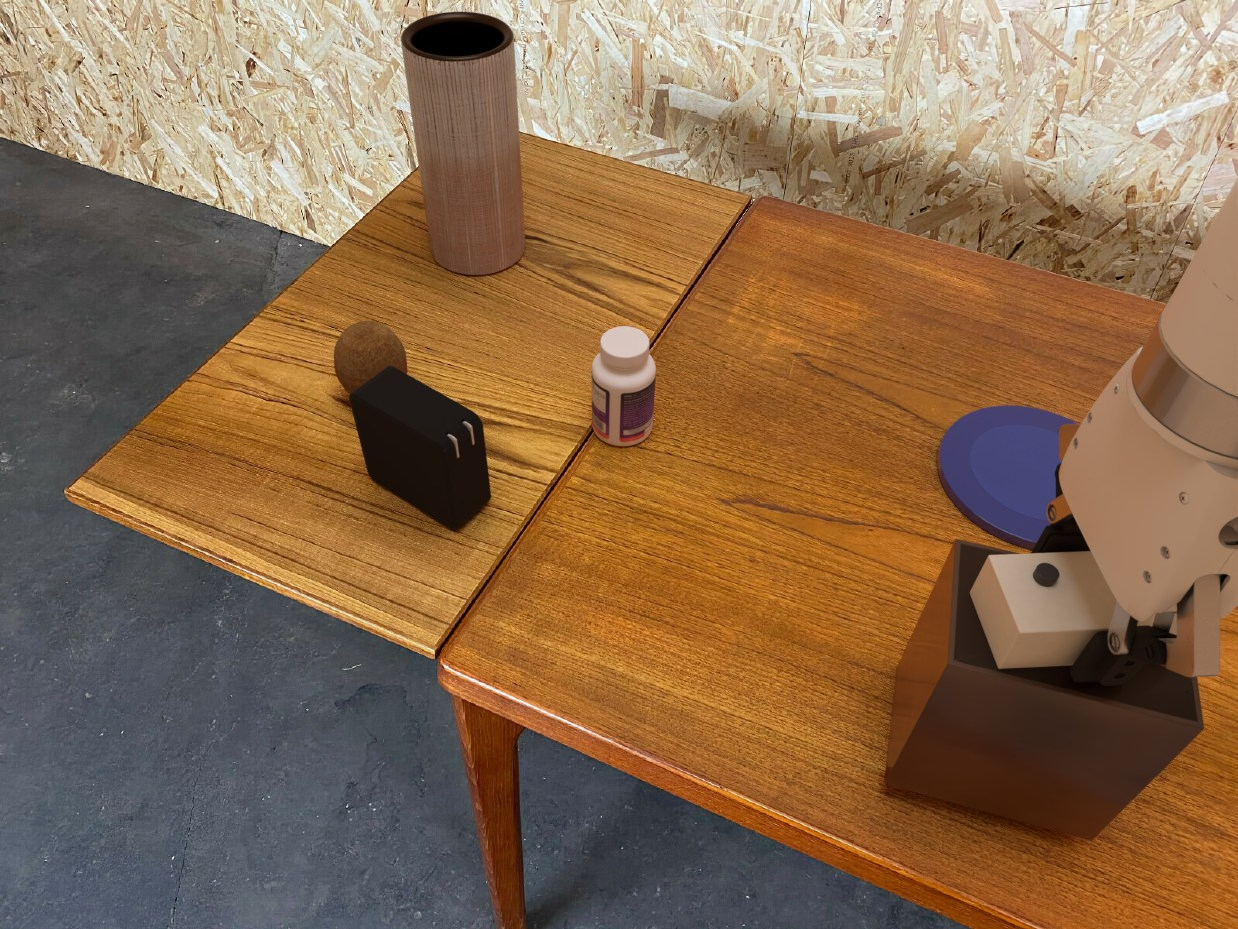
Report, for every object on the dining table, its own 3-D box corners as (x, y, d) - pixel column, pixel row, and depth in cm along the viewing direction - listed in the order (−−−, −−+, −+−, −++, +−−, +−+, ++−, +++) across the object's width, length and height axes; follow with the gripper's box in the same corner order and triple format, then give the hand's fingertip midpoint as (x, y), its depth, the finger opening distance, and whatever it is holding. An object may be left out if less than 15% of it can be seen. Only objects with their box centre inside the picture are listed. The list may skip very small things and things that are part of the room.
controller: (1137, 585, 55) (1169, 540, 52) (1177, 661, 52) (1214, 618, 49) (968, 592, 55) (991, 547, 51) (997, 669, 51) (1024, 626, 48)
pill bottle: (658, 410, 86) (664, 325, 78) (645, 453, 82) (651, 368, 75) (599, 400, 86) (600, 315, 79) (584, 442, 83) (584, 356, 76)
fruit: (329, 396, 86) (309, 326, 80) (385, 363, 89) (371, 294, 83) (370, 431, 83) (354, 361, 77) (427, 396, 86) (415, 327, 80)
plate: (1125, 434, 85) (1129, 426, 84) (1139, 574, 74) (1144, 567, 74) (942, 397, 88) (945, 389, 87) (930, 527, 77) (933, 519, 76)
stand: (1086, 716, 66) (1185, 591, 55) (1091, 841, 60) (1204, 729, 49) (896, 668, 68) (955, 538, 57) (884, 784, 62) (947, 664, 51)
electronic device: (404, 449, 82) (385, 361, 74) (492, 503, 78) (482, 415, 70) (368, 478, 79) (345, 390, 72) (458, 535, 75) (443, 448, 68)
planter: (533, 226, 105) (523, 14, 88) (516, 281, 98) (501, 62, 81) (443, 218, 105) (416, 6, 89) (420, 272, 99) (386, 53, 82)
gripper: (1456, 543, 34) (1213, 766, 47) (1220, 257, 46) (1078, 501, 59) (1255, 551, 34) (1067, 774, 47) (1068, 260, 45) (959, 505, 58)
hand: (1074, 620), depth 53 cm, fingers open, 6 cm apart
